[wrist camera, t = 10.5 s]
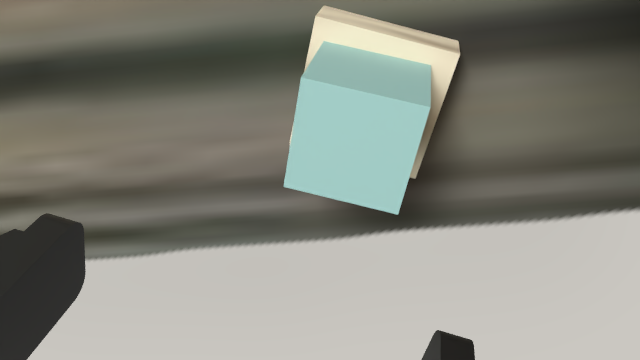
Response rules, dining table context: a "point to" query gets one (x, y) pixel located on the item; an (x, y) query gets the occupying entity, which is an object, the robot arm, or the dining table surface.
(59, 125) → the dining table surface
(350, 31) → the maple pedestal
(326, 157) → the teal cube
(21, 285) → the robot arm
